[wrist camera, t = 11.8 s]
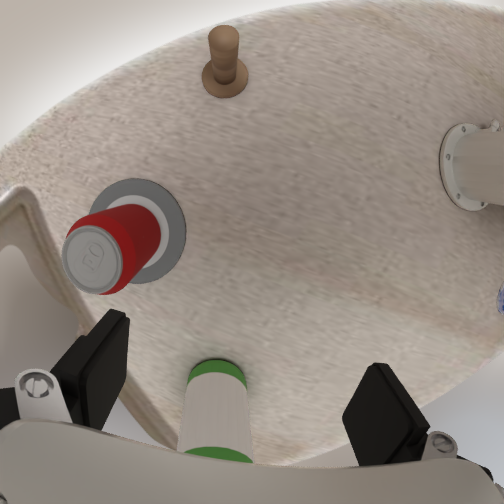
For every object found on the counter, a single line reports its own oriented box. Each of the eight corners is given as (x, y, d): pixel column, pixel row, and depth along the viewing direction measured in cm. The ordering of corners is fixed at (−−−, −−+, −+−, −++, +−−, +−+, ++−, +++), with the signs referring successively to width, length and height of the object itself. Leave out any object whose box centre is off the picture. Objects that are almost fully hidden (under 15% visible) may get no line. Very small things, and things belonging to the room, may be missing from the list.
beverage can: (97, 241, 32) (44, 271, 21) (125, 191, 31) (74, 199, 20) (144, 273, 34) (107, 318, 22) (174, 224, 33) (146, 249, 21)
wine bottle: (254, 390, 40) (285, 598, 11) (204, 406, 40) (195, 603, 11) (231, 348, 38) (244, 589, 9) (178, 366, 38) (137, 586, 9)
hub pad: (122, 158, 31) (119, 158, 30) (207, 218, 34) (206, 219, 33) (74, 243, 33) (71, 245, 32) (151, 300, 35) (149, 303, 35)
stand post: (221, 51, 29) (218, 4, 19) (256, 74, 30) (268, 32, 20) (193, 82, 30) (178, 44, 19) (229, 106, 31) (229, 74, 20)
